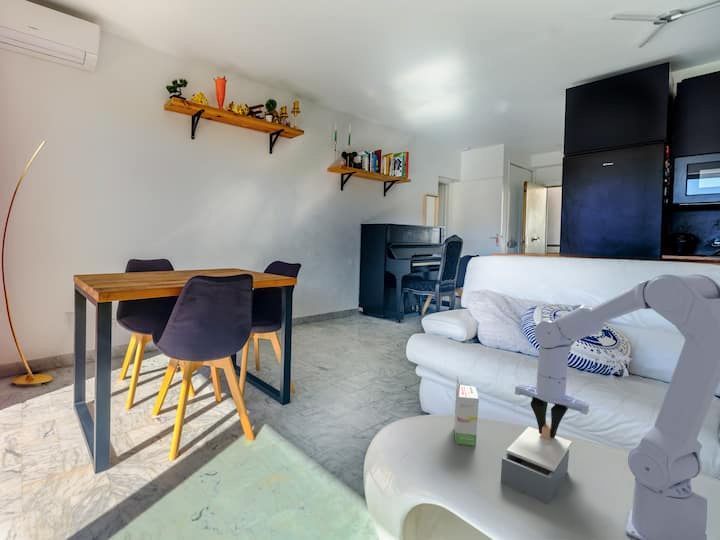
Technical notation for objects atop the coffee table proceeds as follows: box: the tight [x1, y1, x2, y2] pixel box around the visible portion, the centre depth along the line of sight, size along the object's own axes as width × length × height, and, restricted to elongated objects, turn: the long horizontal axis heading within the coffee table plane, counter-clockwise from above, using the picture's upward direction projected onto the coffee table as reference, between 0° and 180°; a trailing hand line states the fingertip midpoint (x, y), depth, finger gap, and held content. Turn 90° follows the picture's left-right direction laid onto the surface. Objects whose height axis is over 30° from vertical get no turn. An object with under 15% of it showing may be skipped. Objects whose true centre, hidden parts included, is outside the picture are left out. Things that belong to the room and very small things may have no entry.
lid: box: [505, 421, 573, 472], centre depth 77 cm, size 9×14×3 cm, turn 138°
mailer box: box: [500, 448, 570, 505], centre depth 76 cm, size 9×14×5 cm, turn 138°
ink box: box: [453, 374, 480, 447], centre depth 91 cm, size 9×5×15 cm, turn 168°
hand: (547, 434), depth 81 cm, fingers closed on lid, 2 cm apart
